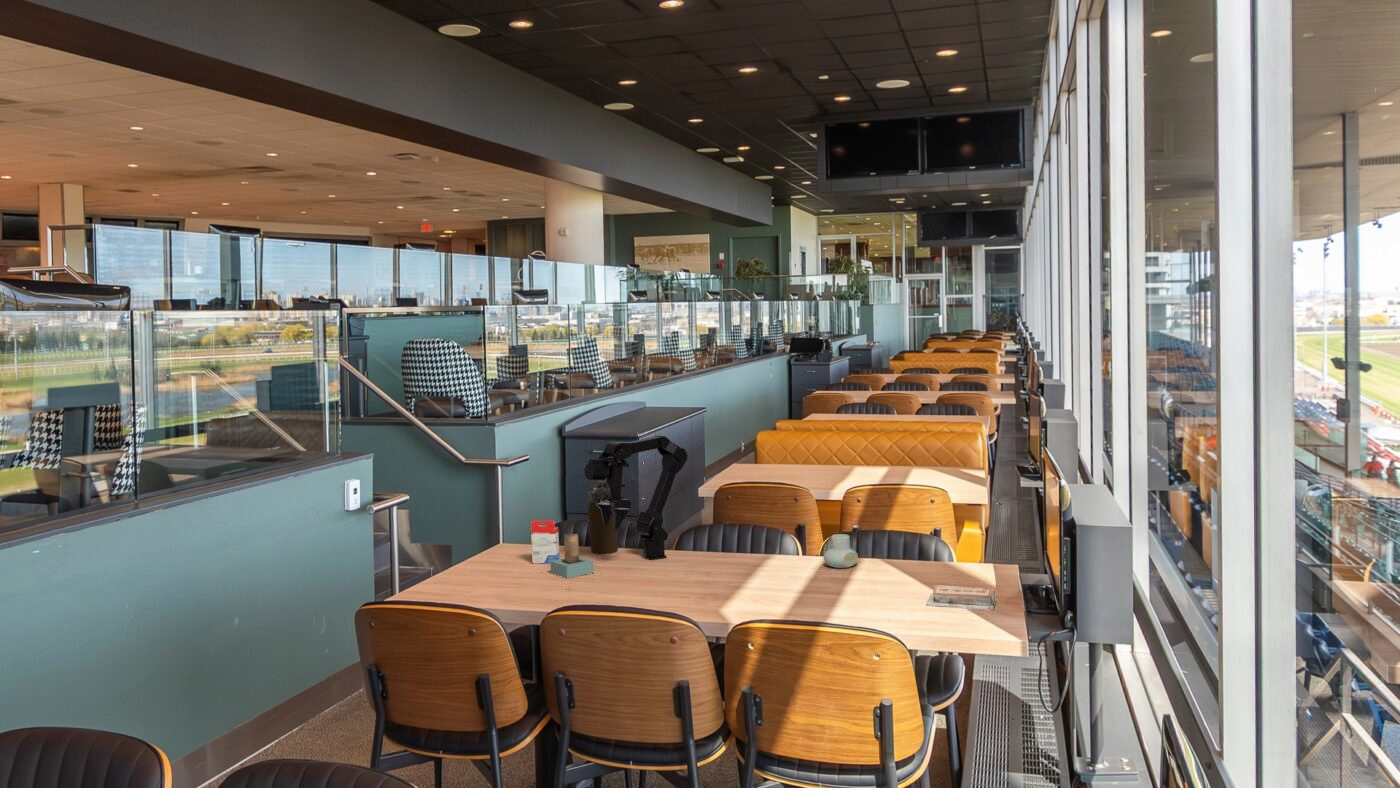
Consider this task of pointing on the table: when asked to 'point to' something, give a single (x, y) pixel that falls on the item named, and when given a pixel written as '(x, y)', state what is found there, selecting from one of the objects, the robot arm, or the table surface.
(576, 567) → the socket block
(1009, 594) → the table surface
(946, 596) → the packaged product
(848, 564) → the pale green rounded piece
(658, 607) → the table surface
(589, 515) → the olive oil
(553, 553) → the ink box
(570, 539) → the peg
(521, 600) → the table surface
